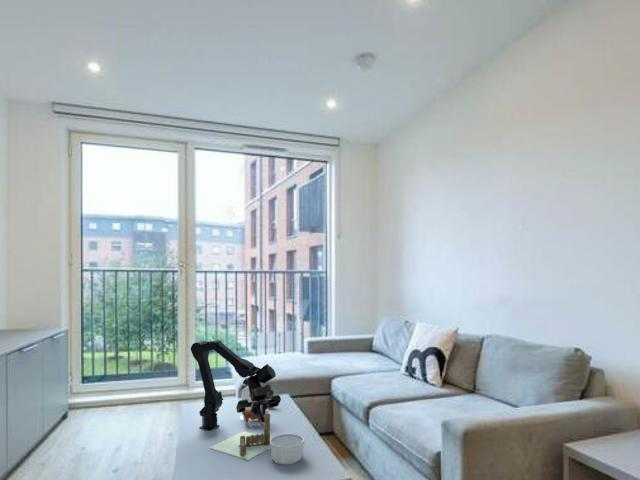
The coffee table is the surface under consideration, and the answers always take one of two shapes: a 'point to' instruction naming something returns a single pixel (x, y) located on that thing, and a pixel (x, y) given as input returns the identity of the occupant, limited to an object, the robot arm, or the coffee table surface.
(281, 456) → the ramekin
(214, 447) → the card
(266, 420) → the fence swing panel
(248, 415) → the bull figurine
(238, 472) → the coffee table surface
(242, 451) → the fence fixed panel
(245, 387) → the white rounded piece
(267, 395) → the wooden carving
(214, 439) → the coffee table surface
